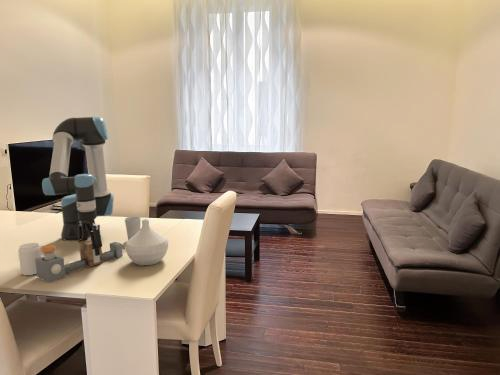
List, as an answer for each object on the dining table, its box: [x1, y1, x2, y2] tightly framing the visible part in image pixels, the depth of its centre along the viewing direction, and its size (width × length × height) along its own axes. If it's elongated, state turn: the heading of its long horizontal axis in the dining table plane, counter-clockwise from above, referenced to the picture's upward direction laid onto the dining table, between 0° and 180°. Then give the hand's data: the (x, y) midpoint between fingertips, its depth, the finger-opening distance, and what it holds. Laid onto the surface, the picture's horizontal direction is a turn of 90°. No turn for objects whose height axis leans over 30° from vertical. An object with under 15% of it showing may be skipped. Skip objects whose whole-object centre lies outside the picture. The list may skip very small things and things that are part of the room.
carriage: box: [78, 238, 104, 267], centre depth 181 cm, size 7×6×10 cm
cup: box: [124, 216, 142, 241], centre depth 215 cm, size 8×8×12 cm
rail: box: [64, 241, 123, 275], centre depth 181 cm, size 5×29×6 cm, turn 143°
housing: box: [35, 254, 66, 283], centre depth 167 cm, size 9×7×8 cm
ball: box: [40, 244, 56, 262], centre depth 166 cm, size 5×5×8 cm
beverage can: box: [18, 242, 42, 276], centre depth 172 cm, size 8×8×12 cm
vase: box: [124, 218, 169, 266], centre depth 182 cm, size 18×18×19 cm
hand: (91, 260), depth 182 cm, fingers closed on carriage, 7 cm apart
